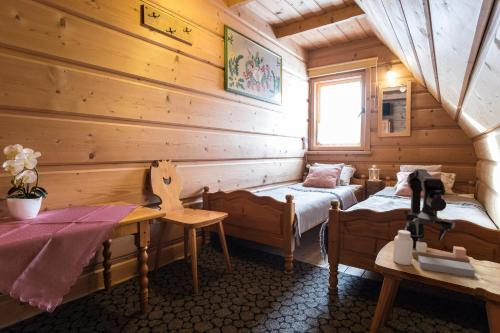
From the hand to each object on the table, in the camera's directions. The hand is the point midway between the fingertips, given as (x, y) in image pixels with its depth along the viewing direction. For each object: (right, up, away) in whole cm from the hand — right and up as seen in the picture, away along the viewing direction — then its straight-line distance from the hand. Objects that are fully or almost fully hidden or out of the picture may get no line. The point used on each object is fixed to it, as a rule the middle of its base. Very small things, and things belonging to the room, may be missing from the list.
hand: (427, 238), depth 130 cm
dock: (+7, -14, -2) cm, 15 cm away
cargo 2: (+18, -10, +5) cm, 21 cm away
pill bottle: (-9, -13, +6) cm, 17 cm away
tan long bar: (+11, -13, +9) cm, 19 cm away
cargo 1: (+4, -9, +11) cm, 15 cm away
